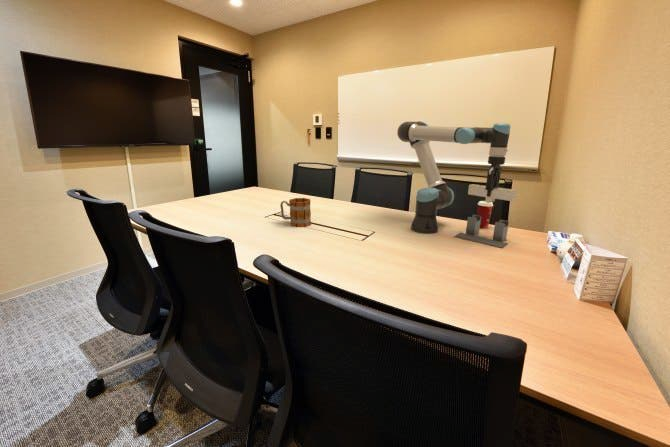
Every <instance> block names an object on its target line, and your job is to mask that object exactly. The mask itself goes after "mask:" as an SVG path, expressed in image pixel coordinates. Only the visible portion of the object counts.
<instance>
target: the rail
mask: <svg viewBox="0 0 670 447" xmlns="http://www.w3.org/2000/svg"><path fill="white" fill-rule="evenodd" d="M485 189H486V185H483V184H481V185H480V184H473V183H471V184H469V185H468V189H467V190H468V191H467V195H471V196H476V197H482V198H483V197H484V198H486V193H487V190H485ZM517 191H518V189H511V188H504V187H499V186H498V187H493V194H492V198H495V200H503V201H509V202H514V201H515V200H516V198H517Z"/></svg>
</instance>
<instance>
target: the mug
mask: <svg viewBox="0 0 670 447" xmlns="http://www.w3.org/2000/svg"><path fill="white" fill-rule="evenodd" d="M283 203H285V204H286V206H287V207H289V217H286V216H285V215H284V205H283ZM280 214H281V218H282V219H283V220H284V221H285V220H290V225H291V226H290V227H293V226H294V228H307V227H310V226H312V220H311V215H312V212H311V199H310V198H307V197H294V198H291V199H289V202H288V201H286V200H283V201H281V202H280Z"/></svg>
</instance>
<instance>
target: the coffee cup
mask: <svg viewBox="0 0 670 447" xmlns="http://www.w3.org/2000/svg"><path fill="white" fill-rule="evenodd" d="M493 203H494V202H493V201H491V203H487V202H485V200H480V201H478V203H477V215H478V216H481V221H480V229H488V228H489V225H490V220H491V216H492V215H491V214H492V210H493V207H494V204H493Z"/></svg>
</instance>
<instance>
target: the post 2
mask: <svg viewBox="0 0 670 447" xmlns="http://www.w3.org/2000/svg"><path fill="white" fill-rule="evenodd" d="M509 225H510V220H509V221H508V220H504V219H499V220H498V221H495V223H494V229H493V234H492V240H496V241H500V242H505V241H506V240H507V236H508V229H509Z"/></svg>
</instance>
